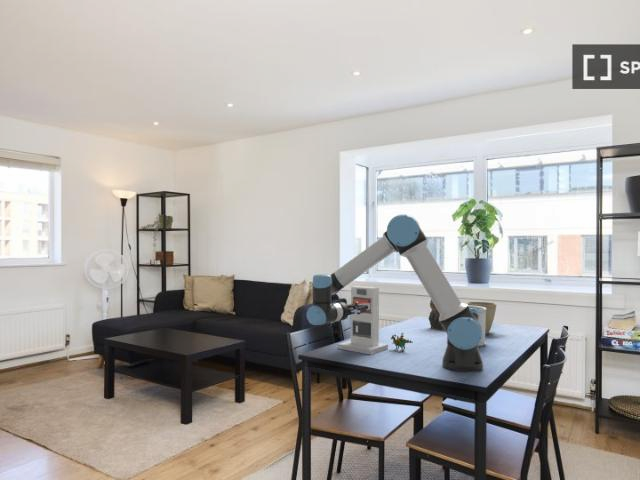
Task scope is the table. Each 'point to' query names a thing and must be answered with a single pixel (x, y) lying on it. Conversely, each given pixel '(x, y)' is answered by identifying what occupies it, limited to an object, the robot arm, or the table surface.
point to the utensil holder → (481, 321)
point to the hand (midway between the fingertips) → (368, 306)
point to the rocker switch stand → (372, 317)
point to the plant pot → (487, 313)
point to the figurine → (400, 341)
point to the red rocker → (361, 302)
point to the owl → (435, 317)
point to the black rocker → (362, 329)
